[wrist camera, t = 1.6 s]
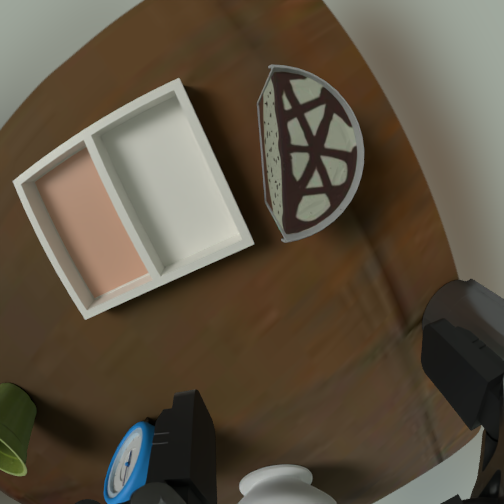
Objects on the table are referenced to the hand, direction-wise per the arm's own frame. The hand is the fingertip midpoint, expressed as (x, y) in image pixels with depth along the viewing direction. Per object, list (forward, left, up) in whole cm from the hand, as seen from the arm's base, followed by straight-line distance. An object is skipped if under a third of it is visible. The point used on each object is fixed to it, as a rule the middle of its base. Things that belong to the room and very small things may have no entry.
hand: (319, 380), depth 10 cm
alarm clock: (+25, +21, -22) cm, 39 cm away
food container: (-6, -5, -22) cm, 23 cm away
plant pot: (+43, +9, -22) cm, 49 cm away
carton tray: (+10, -7, -22) cm, 25 cm away
